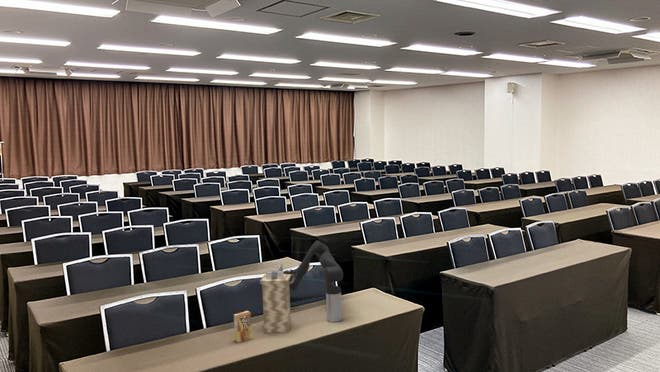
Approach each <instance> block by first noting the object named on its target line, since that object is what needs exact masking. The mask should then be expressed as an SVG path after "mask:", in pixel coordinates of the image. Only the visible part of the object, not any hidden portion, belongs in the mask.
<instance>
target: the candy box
mask: <svg viewBox="0 0 660 372" xmlns="http://www.w3.org/2000/svg"><path fill="white" fill-rule="evenodd" d="M233 323H234V340H235V341H236V342H237V343H241V342H244V341H247V340H251V339H252V338H253V335H252V334H253V333H252V331H253V330H252V313H251V311H249V310H245V311H242V312H238V313H235V314H233Z"/></svg>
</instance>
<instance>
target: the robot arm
mask: <svg viewBox="0 0 660 372" xmlns="http://www.w3.org/2000/svg"><path fill="white" fill-rule="evenodd" d="M313 255H316V256H317V257H318V258H319V259H318V260H319V264H320V265H321V268H323V269H324V281H325V300H326V302H325V303H326V304H325V305H326V320H327V322H331V323H339V322H342V321H343V306H342V289H341V287H340V286H339V285H334V284H332V283H335V282H340V281H342V280H343V278H344V272H343V269H342V267H341V266H340V265H339V264H338V263H337V262H336V260H335V258H334V257H333V255H332V253H331V252H330V249H329V247H328V246H327V244H325V243H323V242H321V241H320V240H316V241H314V243H312V245H311V246H310V248H309V249H308V251H307V252H306V255H305V256H304V258H303V260H302V261H301V262H300V264H299V265H298V267H297V268H296V269H295V270H293V269H289V270H288V269H286V270H283V271H284V274H291V278H290V280H289V290H290V291H293V292H296V291H297V289H298V288H299V286H300V284H301V282H302V280H303V278H304V277H305V276H306V275H307V273H308V272H309V270H310V265H311V264H310V263H311V258H312V256H313Z"/></svg>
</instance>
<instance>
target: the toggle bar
mask: <svg viewBox="0 0 660 372" xmlns="http://www.w3.org/2000/svg"><path fill="white" fill-rule="evenodd" d="M283 267H284V266H283V263H282V264H280V263H279V264H276V265H275V266H274V268H273V269H272V271H266V272H265V275H266V279H283V278H284V271H285V270H284V269H283Z"/></svg>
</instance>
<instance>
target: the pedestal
mask: <svg viewBox="0 0 660 372" xmlns="http://www.w3.org/2000/svg"><path fill="white" fill-rule="evenodd" d="M290 278H291V274H284V278H283V279H266V274H264V275H263V276H262V278H261V279H260V280H259V284H260V285H261V290H262V291H261V292H262V309H263V311H262V312H263V314H262V315H263V329H264V330H263V331H264V332H263V333H265V334H269V333H274V334H275V333H289V331H290V328H291V326H292V318H291V317H292V316H291V315H292V314H291V297H290V296H291V295H290V291H291V290H290V288H289V280H290Z"/></svg>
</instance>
